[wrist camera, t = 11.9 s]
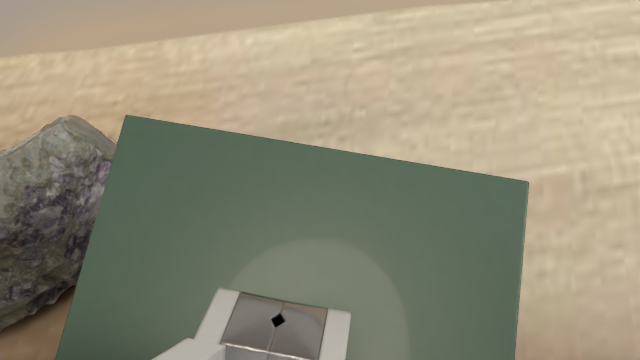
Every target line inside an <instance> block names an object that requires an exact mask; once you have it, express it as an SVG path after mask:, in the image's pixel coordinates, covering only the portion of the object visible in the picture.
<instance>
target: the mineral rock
mask: <svg viewBox="0 0 640 360" xmlns="http://www.w3.org/2000/svg"><path fill="white" fill-rule="evenodd" d="M116 147H117V146H116V145H115V144H114V143H113V142H112V141H111V140H110V139H108V138H107V137H106V136H105V135H104V134H103V133H102V132H101V131H99V130H98V129H96V128H95V127H93V126H92V125H91V124H89V123H88V122H87V121H85V120H84V119H82V118H80V117H78V116H75V115H70V116H67V117H59V118H58V119H57V120H55V121H54V122H53V123H51V124H47V125H45V126H44V127H43V128H42V130H41V131H39V132H38V133H34V134H33V135H32V136H30V137H29V138H27V139H26V140H24V141H23V142H21V143H20V144H18V145H16V146H14V147H12V148H10V149H8V150H3V151H1V152H0V331H2V330H3V329H5V328H6V327H7V326H9V325H11V324H13V323H15V322H17V321H19V320H21V319H22V318H24V317H25V316H27V315H34V314H35V313H36V312H37V310H38V309H39V308H40V307H41V306H42V305H50V304H53V303H55V302H56V300H57V299H58V297H59V296H60V295H61V294H62V292H63V291H65V290H66V289H68V288H70V287H71V286H72V285H77V282H78V278H79V275H80V271H81V268H82V264H83V261H84V258H85V254H86V251H87V247H88V244H89V240H90V237H91V233H92V230H93V226H94V223H95V219H96V216H97V213H98V209H99V206H100V202H101V199H102V195H103V192H104V188H105V185H106V181H107V178H108V175H109V171H110V168H111V164H112V161H113V157H114V154H115V150H116Z"/></svg>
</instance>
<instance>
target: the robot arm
mask: <svg viewBox="0 0 640 360" xmlns="http://www.w3.org/2000/svg"><path fill="white" fill-rule="evenodd" d="M327 310H328V312H327ZM326 317H327V318H326ZM350 320H351V313H350V312H349V311H343V310H337V309H331V308H329V309H328V308H324V307H318V306H313V305H307V304H302V303H296V302H291V301H284V300H280V299H275V298H270V297H265V296H261V295H256V294H251V293H247V292H239V291H235V290H230V289H226V288H221V287H220V288H219V289H218V290H217V291H216V292H215V294H214V296H213V298H212V300H211V303H210V305H209V307H208V309H207V311H206V313H205V315H204V318H203V320H202V322H201V324H200V326H199V328H198V330H197V333H196V335H195V337H194V339H190V338H186V339H184V340H183V341H181V342H179V343H178V344H176V345H175V346H173V347H171V348H170V349H168V350H166V351H165V352H163V353H161V354H160V355H158V356H157V357H155V358H153V359H152V360H345V358H346V350H347V343H348V335H349V328H350Z"/></svg>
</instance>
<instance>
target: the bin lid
mask: <svg viewBox="0 0 640 360" xmlns="http://www.w3.org/2000/svg"><path fill="white" fill-rule="evenodd" d="M528 191H529V182H527V181H522V180H516V179H510V178H504V177H498V176H492V175H486V174H480V173H474V172H468V171H462V170H456V169H450V168H444V167H438V166H432V165H426V164H420V163H414V162H408V161H402V160H396V159H390V158H384V157H378V156H372V155H366V154H360V153H354V152H348V151H342V150H336V149H330V148H324V147H318V146H311V145H305V144H299V143H293V142H287V141H281V140H275V139H269V138H263V137H257V136H251V135H245V134H239V133H233V132H227V131H221V130H215V129H209V128H203V127H197V126H191V125H185V124H179V123H173V122H167V121H161V120H155V119H149V118H143V117H137V116H131V115H126V116H125V119H124V123H123V126H122V130H121V133H120V136H119V140H118V143H117V147H116V150H115V154H114V157H113V161H112V164H111V168H110V171H109V175H108V178H107V181H106V185H105V188H104V192H103V195H102V199H101V202H100V206H99V209H98V213H97V216H96V219H95V223H94V226H93V230H92V233H91V237H90V240H89V244H88V247H87V251H86V254H85V258H84V261H83V264H82V268H81V271H80V275H79V278H78V282H77V285H76V289H75V292H74V296H73V299H72V303H71V306H70V309H69V313H68V316H67V320H66V323H65V327H64V330H63V334H62V337H61V341H60V344H59V348H58V351H57V354H56V358H55V360H152V359H153V358H155V357H157V356H158V355H160V354H161V353H163V352H165V351H166V350H168V349H170V348H171V347H173V346H175V345H176V344H178V343H179V342H181V341H183V340H184V339H186V338H190V339H194V337H195V335H196V333H197V330H198V328H199V326H200V324H201V322H202V320H203V318H204V315H205V313H206V311H207V309H208V307H209V305H210V303H211V300H212V298H213V296H214V294H215V292H216V291H217V290H218V289H219V288H220V287H221V288H226V289H230V290H235V291H239V292H247V293H251V294H256V295H261V296H265V297H270V298H275V299H280V300H284V301H291V302H296V303H302V304H307V305H313V306H318V307H324V308H328V309H329V308H331V309H337V310H343V311H349V312H350V313H351V320H350V328H349V335H348V343H347V350H346V358H345V360H514V358H515V346H516V334H517V322H518V310H519V298H520V286H521V274H522V262H523V250H524V238H525V227H526V215H527V203H528ZM327 312H328V310H327ZM326 318H327V317H326Z"/></svg>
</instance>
